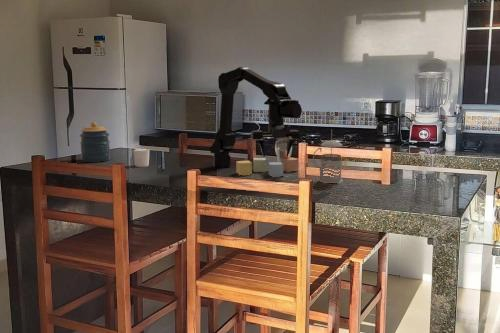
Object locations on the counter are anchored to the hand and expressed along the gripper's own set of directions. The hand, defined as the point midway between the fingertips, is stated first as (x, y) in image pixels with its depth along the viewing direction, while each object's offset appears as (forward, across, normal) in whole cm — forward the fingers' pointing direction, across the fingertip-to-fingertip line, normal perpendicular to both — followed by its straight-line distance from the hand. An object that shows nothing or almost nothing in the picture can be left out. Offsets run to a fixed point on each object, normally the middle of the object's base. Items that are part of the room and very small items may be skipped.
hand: (275, 156), depth 217 cm
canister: (+8, -76, +45) cm, 89 cm away
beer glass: (+5, +7, +20) cm, 22 cm away
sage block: (+8, -5, +11) cm, 14 cm away
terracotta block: (+8, +7, +9) cm, 14 cm away
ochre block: (+8, -12, +5) cm, 15 cm away
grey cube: (+8, 0, 0) cm, 8 cm away
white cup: (+8, -54, +29) cm, 62 cm away
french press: (+8, +18, -12) cm, 23 cm away
